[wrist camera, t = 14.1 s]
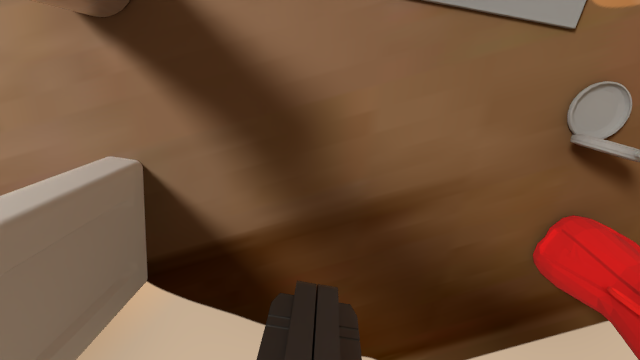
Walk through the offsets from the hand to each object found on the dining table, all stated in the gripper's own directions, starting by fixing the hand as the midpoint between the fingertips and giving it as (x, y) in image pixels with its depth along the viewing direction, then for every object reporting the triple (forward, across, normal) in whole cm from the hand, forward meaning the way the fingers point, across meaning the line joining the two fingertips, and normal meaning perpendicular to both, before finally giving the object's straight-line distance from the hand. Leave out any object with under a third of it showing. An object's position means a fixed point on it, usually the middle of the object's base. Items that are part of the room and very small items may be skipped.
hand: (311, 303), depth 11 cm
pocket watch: (+29, -30, -8) cm, 43 cm away
